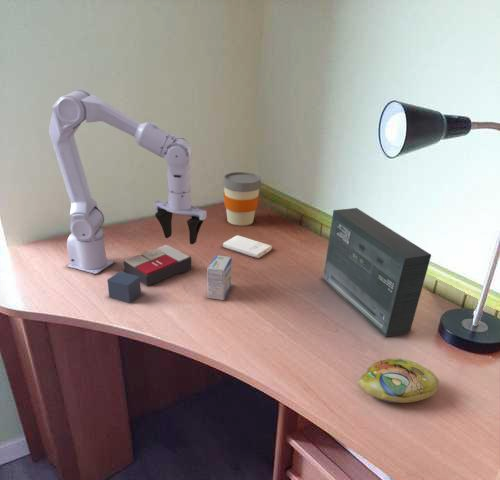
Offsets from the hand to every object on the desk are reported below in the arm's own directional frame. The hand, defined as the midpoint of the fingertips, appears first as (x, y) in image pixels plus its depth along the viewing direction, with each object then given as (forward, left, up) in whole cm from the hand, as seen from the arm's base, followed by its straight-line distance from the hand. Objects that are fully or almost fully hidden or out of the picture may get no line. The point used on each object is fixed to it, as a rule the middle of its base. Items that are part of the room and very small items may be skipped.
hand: (180, 239), depth 131 cm
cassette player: (+49, +6, -9) cm, 51 cm away
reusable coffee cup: (-1, +42, -9) cm, 43 cm away
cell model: (+62, -25, -9) cm, 68 cm away
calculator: (-6, -3, -9) cm, 11 cm away
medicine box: (+14, -6, -9) cm, 18 cm away
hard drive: (+10, +22, -9) cm, 26 cm away
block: (-6, -18, -9) cm, 21 cm away
